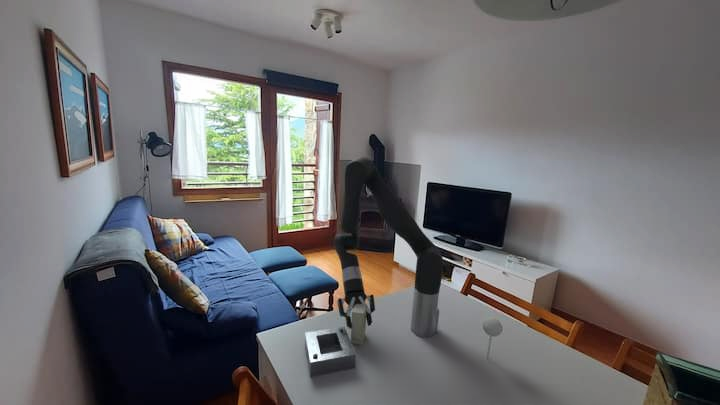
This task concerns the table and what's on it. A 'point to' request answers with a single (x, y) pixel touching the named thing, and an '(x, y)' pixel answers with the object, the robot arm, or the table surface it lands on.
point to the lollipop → (492, 328)
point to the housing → (329, 361)
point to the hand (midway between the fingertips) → (360, 326)
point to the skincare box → (358, 324)
